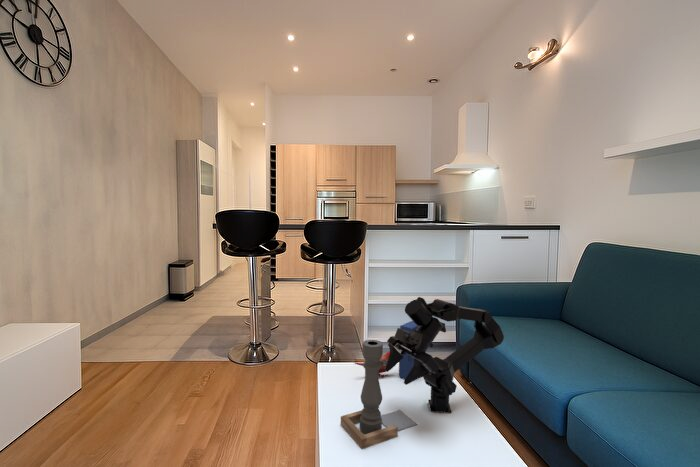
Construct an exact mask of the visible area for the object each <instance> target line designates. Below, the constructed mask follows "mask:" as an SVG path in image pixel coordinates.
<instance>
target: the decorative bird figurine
mask: <svg viewBox="0 0 700 467" xmlns="http://www.w3.org/2000/svg"><path fill="white" fill-rule="evenodd" d="M389 354H390V350H389V351H387V352H386V353H385V354H383V355H382V356H381V359H380V361H379V362H380V363H381V368H380V369H379V377H386V376H387V374H383V373H386V372H387V371H385V368H386V365H387V361H388V358H389ZM363 363H364V362H354V364H355V365H358V366H362V367H363Z"/></svg>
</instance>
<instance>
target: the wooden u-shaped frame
mask: <svg viewBox="0 0 700 467" xmlns="http://www.w3.org/2000/svg"><path fill="white" fill-rule="evenodd" d="M362 410H363V409H361V410H358V411H355V412H351V413H347V414H344V415H340V426H341V427H342V428H343V429H344V431H346V433H347V434H348V435H349V436H350V437H351V438H352V439H353V441H354V442H355V443H356V444H357V445H358V447H360V448H361V449H365V448H368V447H371V446H374V445H377V444H380V443H382V442H386V441H389V440H390V439H394V438H397V437H399V436H398V435H399V434H398V433H399V431H398V427H397V426H396V425H392V426H389V427H384V428H383V427H382V429H380V430H377V431H374V432H371V433H368V434H365V435H364V434H363V433H362V432H361V431H360V428H359V427H357V426H356V424H358V423H359V424H360V417H361V411H362Z"/></svg>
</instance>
